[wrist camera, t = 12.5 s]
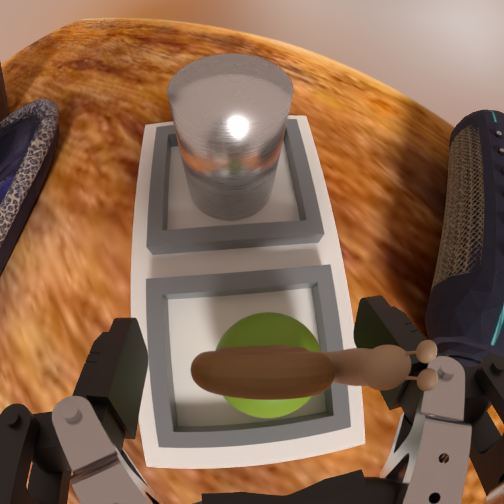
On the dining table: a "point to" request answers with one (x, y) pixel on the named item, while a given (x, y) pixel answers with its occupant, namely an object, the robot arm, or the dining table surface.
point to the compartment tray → (235, 306)
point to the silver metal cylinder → (230, 131)
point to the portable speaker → (471, 245)
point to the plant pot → (3, 98)
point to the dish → (24, 165)
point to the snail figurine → (296, 366)
